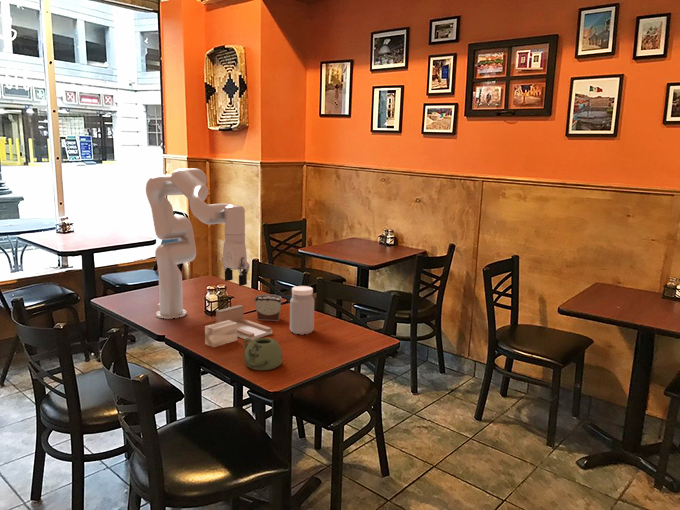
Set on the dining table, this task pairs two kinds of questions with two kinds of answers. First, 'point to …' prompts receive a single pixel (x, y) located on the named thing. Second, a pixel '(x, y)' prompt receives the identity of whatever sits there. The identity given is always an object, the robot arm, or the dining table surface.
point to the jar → (302, 310)
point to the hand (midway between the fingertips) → (235, 282)
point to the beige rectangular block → (220, 333)
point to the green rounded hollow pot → (262, 353)
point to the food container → (268, 307)
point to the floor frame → (242, 323)
